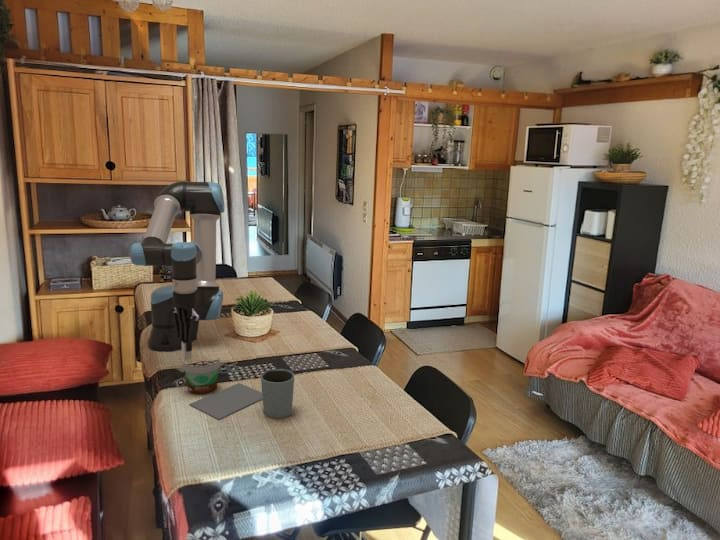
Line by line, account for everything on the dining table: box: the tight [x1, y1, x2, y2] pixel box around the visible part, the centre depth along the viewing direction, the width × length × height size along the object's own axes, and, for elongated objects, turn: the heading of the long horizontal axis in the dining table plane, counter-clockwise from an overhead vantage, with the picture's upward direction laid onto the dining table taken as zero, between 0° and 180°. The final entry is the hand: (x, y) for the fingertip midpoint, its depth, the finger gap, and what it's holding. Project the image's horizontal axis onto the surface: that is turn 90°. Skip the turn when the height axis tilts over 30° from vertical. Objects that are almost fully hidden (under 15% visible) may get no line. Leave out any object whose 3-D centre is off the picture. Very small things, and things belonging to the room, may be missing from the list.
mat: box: [188, 382, 263, 421], centre depth 169 cm, size 14×20×1 cm
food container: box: [181, 357, 222, 395], centre depth 173 cm, size 12×6×10 cm, turn 118°
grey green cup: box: [260, 368, 295, 420], centre depth 163 cm, size 10×10×12 cm
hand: (186, 359), depth 178 cm, fingers closed
